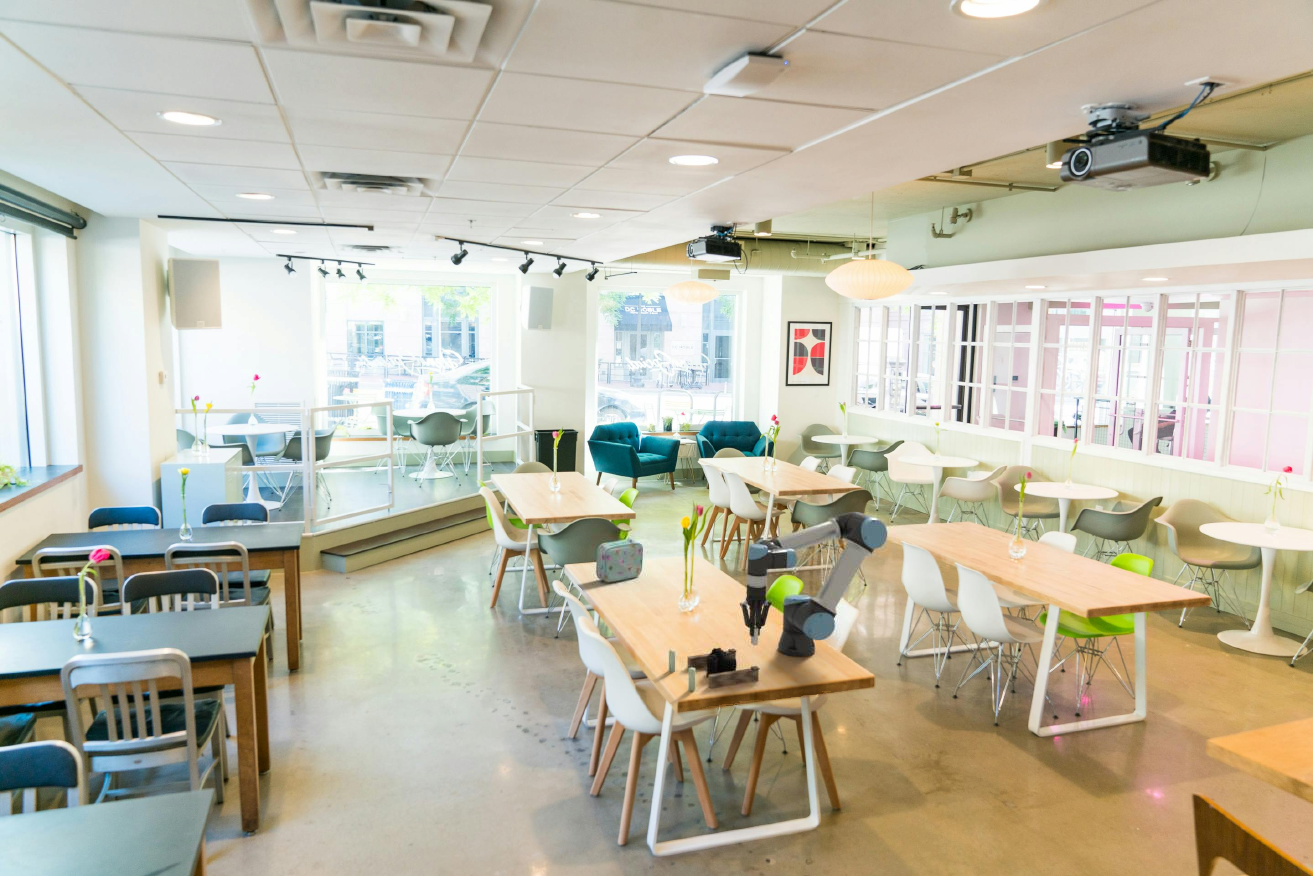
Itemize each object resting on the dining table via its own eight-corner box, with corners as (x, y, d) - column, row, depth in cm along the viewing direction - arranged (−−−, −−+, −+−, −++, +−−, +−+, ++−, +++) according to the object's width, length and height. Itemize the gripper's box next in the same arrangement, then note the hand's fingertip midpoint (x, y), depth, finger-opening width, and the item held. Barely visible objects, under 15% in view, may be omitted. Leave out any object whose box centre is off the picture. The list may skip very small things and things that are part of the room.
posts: (673, 669, 321) (673, 649, 320) (696, 690, 301) (696, 669, 300) (667, 670, 320) (668, 650, 319) (690, 691, 300) (690, 670, 300)
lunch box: (633, 572, 457) (633, 534, 455) (645, 576, 449) (645, 538, 447) (594, 581, 440) (594, 541, 438) (605, 585, 432) (605, 545, 430)
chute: (733, 660, 331) (733, 648, 330) (759, 680, 311) (759, 668, 310) (687, 667, 323) (687, 654, 323) (710, 688, 303) (710, 675, 303)
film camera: (728, 682, 309) (728, 659, 308) (703, 678, 313) (704, 655, 312) (739, 668, 323) (740, 646, 322) (715, 664, 327) (716, 642, 326)
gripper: (766, 580, 324) (764, 639, 327) (737, 583, 319) (734, 642, 322) (776, 586, 317) (773, 645, 320) (746, 589, 312) (743, 649, 315)
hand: (754, 644), depth 321 cm, fingers closed
